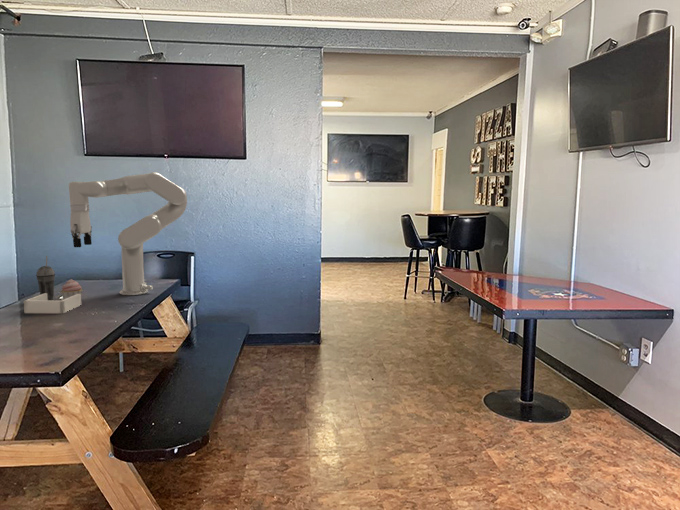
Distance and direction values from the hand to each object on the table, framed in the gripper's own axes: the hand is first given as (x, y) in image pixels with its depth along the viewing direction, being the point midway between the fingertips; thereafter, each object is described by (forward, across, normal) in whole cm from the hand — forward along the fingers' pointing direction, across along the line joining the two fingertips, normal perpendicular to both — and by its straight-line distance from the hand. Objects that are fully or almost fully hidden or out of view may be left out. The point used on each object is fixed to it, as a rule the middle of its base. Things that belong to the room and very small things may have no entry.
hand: (82, 245), depth 226 cm
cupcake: (+23, +12, 0) cm, 26 cm away
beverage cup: (+23, +12, -11) cm, 29 cm away
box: (+23, +26, -1) cm, 35 cm away
